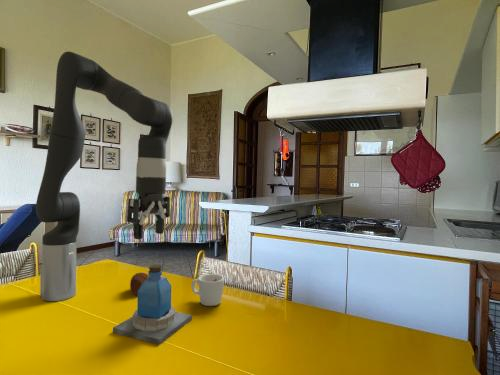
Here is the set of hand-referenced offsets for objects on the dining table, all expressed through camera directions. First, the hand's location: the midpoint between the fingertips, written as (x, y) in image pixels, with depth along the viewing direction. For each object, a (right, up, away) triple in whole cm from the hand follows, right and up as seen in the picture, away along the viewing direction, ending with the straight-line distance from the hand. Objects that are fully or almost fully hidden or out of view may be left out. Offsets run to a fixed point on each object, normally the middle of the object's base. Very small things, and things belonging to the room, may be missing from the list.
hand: (149, 236), depth 83 cm
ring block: (+2, -23, -2) cm, 23 cm away
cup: (+13, -23, +14) cm, 30 cm away
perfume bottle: (+2, -20, -2) cm, 20 cm away
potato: (-10, -22, +22) cm, 33 cm away
